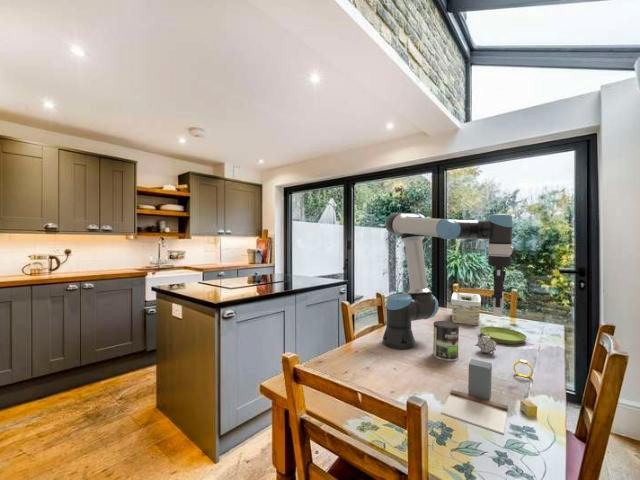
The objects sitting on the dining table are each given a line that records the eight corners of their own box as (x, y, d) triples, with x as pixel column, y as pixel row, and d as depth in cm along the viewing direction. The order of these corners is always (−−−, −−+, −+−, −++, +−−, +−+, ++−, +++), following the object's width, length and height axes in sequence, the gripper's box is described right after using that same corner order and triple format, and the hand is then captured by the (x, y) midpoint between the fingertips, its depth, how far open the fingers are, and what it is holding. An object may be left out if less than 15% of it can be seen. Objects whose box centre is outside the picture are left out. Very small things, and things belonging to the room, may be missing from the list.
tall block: (468, 397, 98) (468, 363, 98) (470, 390, 102) (471, 358, 102) (489, 403, 95) (489, 368, 94) (491, 396, 99) (491, 363, 98)
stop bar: (450, 395, 99) (450, 392, 99) (451, 393, 101) (451, 389, 101) (507, 412, 90) (507, 408, 90) (507, 409, 91) (507, 405, 91)
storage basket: (480, 326, 173) (481, 301, 173) (450, 322, 181) (450, 298, 180) (479, 316, 195) (480, 294, 194) (452, 313, 202) (452, 291, 202)
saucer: (472, 338, 155) (472, 332, 155) (487, 329, 168) (487, 324, 168) (519, 350, 139) (519, 343, 139) (531, 339, 153) (531, 333, 153)
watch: (531, 377, 113) (533, 361, 112) (532, 380, 110) (534, 364, 110) (512, 372, 116) (514, 357, 116) (512, 375, 114) (514, 359, 113)
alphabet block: (529, 409, 91) (529, 400, 91) (537, 416, 88) (537, 405, 88) (519, 410, 91) (520, 400, 91) (527, 416, 88) (527, 406, 88)
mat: (440, 413, 89) (440, 411, 89) (450, 395, 99) (450, 394, 99) (503, 434, 80) (503, 433, 80) (507, 412, 90) (507, 411, 90)
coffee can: (464, 359, 127) (464, 326, 127) (443, 362, 125) (443, 328, 124) (447, 350, 137) (448, 319, 137) (428, 352, 135) (428, 321, 134)
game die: (491, 362, 134) (503, 349, 128) (472, 354, 135) (483, 341, 129) (489, 346, 141) (501, 333, 135) (471, 338, 142) (482, 326, 136)
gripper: (511, 258, 100) (509, 321, 100) (511, 254, 121) (510, 306, 121) (485, 257, 104) (484, 318, 104) (490, 253, 125) (489, 304, 125)
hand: (498, 312), depth 113 cm, fingers open, 13 cm apart
